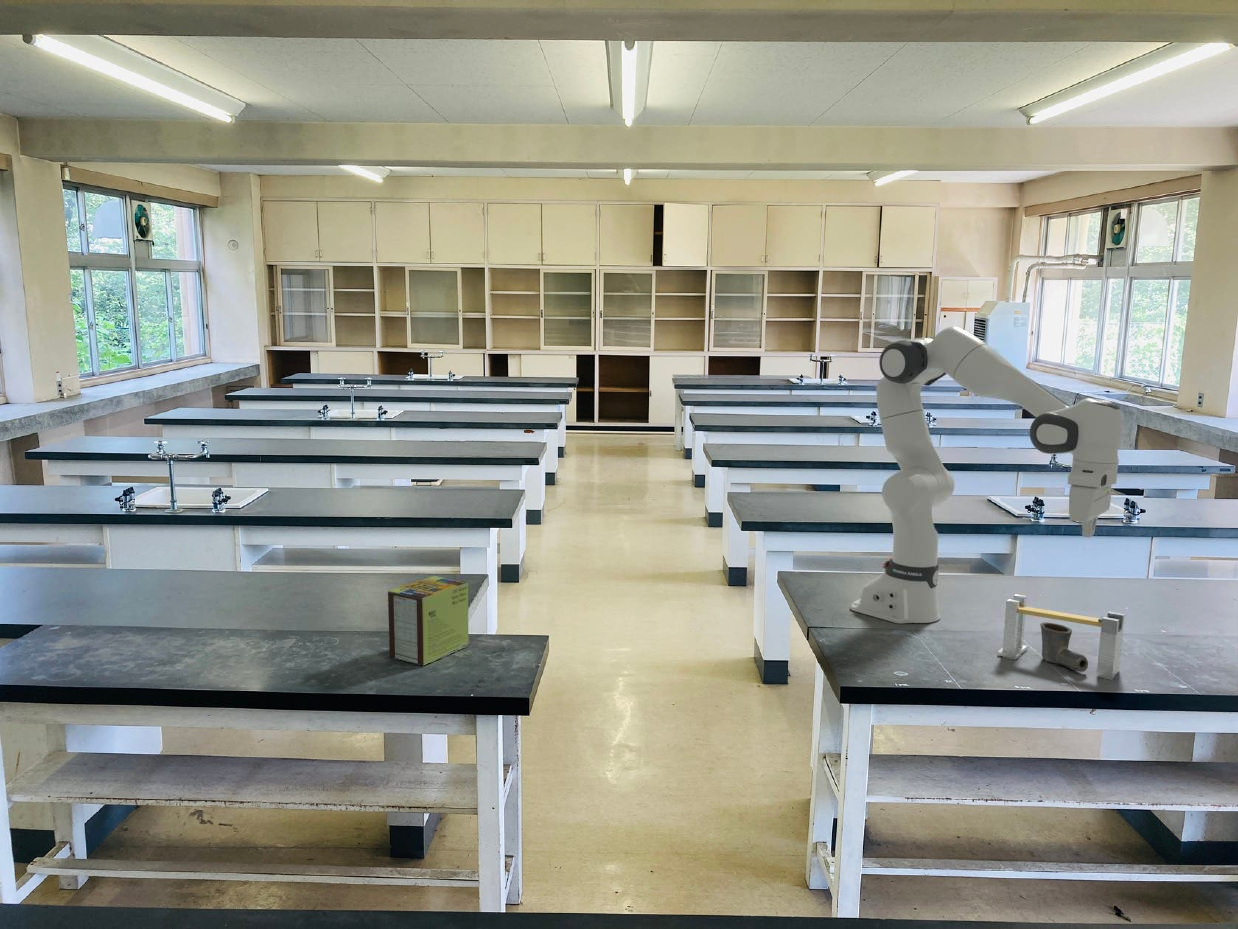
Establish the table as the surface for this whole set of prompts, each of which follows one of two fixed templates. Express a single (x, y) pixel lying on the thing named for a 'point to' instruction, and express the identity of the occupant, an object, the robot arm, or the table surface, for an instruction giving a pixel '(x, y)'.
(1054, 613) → the yellow bar
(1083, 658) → the pipe
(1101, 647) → the stop block
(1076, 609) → the table surface
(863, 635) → the table surface
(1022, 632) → the grey slotted stand
